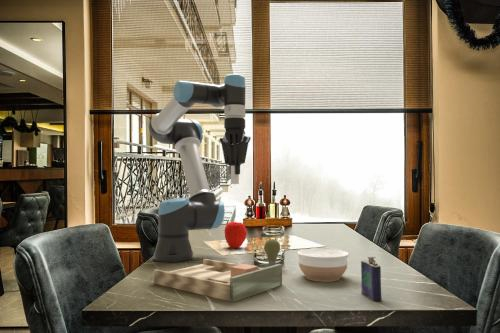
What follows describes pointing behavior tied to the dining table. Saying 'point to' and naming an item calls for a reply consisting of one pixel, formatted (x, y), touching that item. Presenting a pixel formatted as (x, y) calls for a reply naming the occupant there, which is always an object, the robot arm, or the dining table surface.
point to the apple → (235, 234)
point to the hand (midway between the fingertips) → (234, 183)
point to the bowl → (323, 264)
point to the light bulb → (272, 250)
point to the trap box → (220, 280)
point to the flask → (371, 279)
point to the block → (242, 269)
